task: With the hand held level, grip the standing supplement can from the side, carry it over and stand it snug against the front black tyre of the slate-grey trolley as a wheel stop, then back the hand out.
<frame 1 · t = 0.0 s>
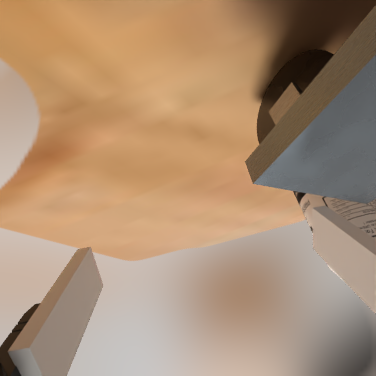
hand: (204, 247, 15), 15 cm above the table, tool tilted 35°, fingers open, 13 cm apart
supplement can: (313, 161, 36), on the table
trolley: (284, 82, 25), on the table
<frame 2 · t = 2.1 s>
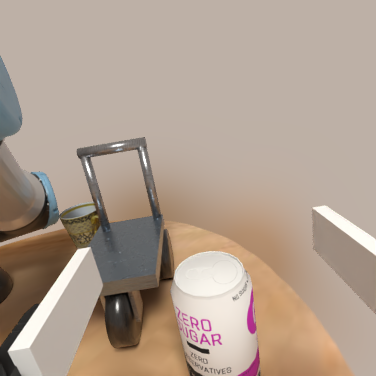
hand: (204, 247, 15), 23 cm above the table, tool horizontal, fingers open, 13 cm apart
trolley: (132, 333, 39), on the table
ceramic cup: (95, 246, 67), on the table
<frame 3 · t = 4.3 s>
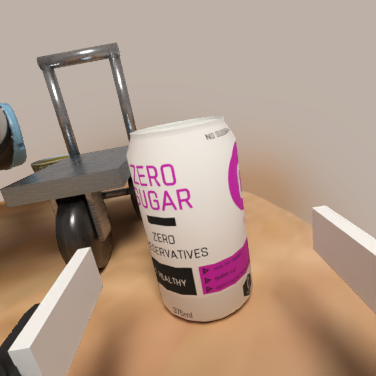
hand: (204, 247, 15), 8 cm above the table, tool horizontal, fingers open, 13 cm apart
supplement can: (207, 292, 24), on the table
trolley: (98, 262, 32), on the table
ceramic cup: (73, 201, 60), on the table
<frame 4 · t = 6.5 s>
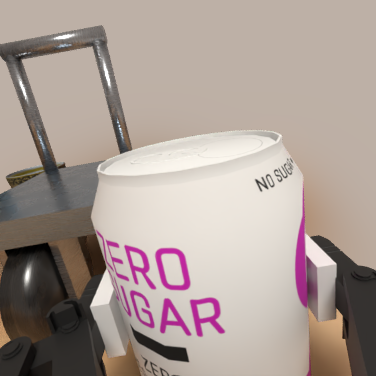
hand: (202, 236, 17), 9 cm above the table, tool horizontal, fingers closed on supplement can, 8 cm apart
trolley: (72, 326, 23), on the table
ceramic cup: (58, 218, 51), on the table
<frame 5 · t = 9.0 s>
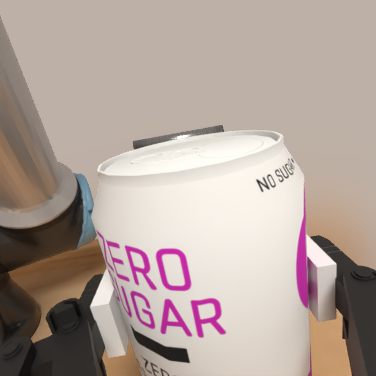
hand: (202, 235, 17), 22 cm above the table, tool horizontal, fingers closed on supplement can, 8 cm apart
when the fingers open (10 cm above the table, at t = 11.8 s): supplement can drops 1 cm, on the table.
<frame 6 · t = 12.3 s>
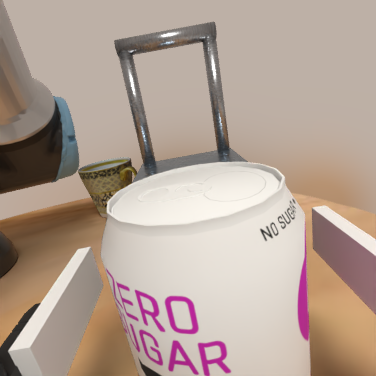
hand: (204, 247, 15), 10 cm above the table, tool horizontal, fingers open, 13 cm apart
trolley: (214, 309, 24), on the table
ceramic cup: (123, 212, 52), on the table
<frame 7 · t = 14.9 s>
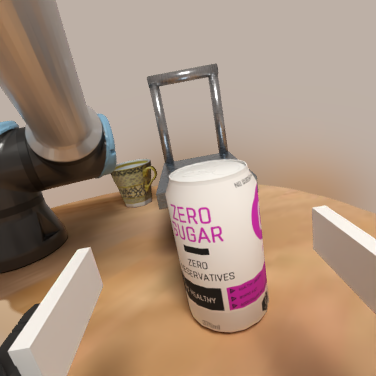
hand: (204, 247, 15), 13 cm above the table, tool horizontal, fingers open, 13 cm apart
supplement can: (229, 306, 28), on the table
trolley: (217, 257, 36), on the table
ceramic cup: (143, 203, 65), on the table
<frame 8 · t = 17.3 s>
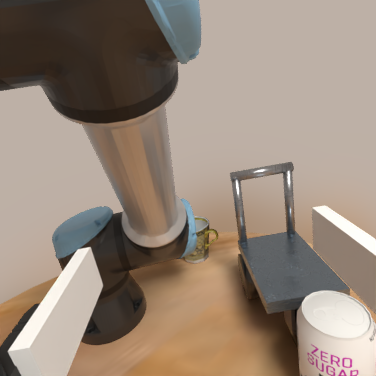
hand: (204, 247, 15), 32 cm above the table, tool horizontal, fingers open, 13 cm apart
trolley: (302, 341, 43), on the table
ceramic cup: (201, 258, 71), on the table
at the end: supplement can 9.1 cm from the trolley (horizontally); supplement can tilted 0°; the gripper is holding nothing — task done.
